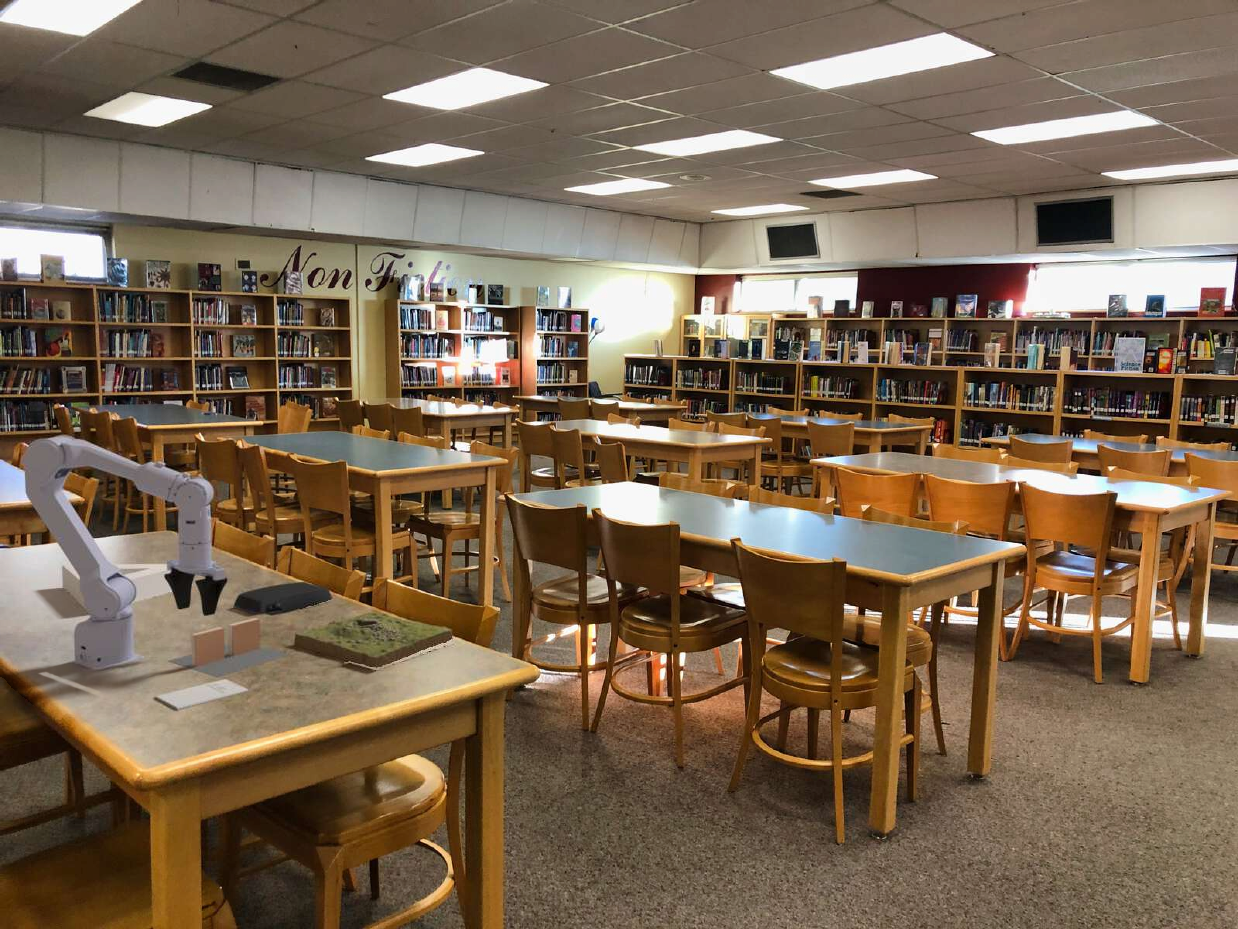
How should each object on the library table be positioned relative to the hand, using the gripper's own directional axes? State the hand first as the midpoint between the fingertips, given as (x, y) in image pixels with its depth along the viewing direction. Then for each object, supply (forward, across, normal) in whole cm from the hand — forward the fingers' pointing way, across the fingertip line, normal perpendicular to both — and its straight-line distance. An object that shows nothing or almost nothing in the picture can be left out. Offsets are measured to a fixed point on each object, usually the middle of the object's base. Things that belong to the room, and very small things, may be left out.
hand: (196, 611), depth 177 cm
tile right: (+9, -5, -7) cm, 12 cm away
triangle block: (+10, +55, -24) cm, 60 cm away
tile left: (+9, -5, +1) cm, 10 cm away
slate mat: (+10, -6, -3) cm, 11 cm away
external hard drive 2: (+10, +19, -37) cm, 43 cm away
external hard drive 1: (+10, -18, +12) cm, 24 cm away
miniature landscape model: (+10, -21, -26) cm, 35 cm away
